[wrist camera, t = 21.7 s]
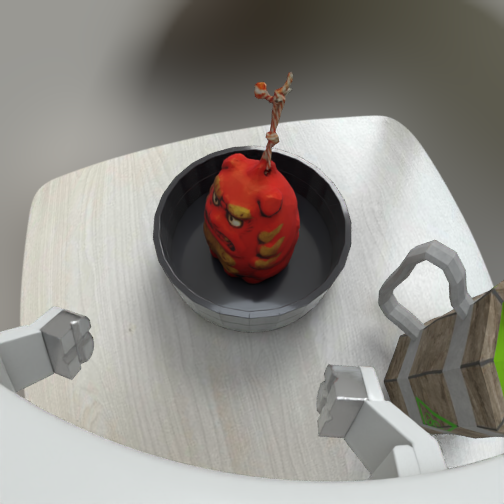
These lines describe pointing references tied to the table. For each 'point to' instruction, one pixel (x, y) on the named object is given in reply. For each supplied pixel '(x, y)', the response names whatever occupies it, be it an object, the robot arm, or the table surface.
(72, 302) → the table surface
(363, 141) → the table surface
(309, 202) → the pan
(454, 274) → the mug
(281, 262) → the red clay folk toy
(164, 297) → the table surface
